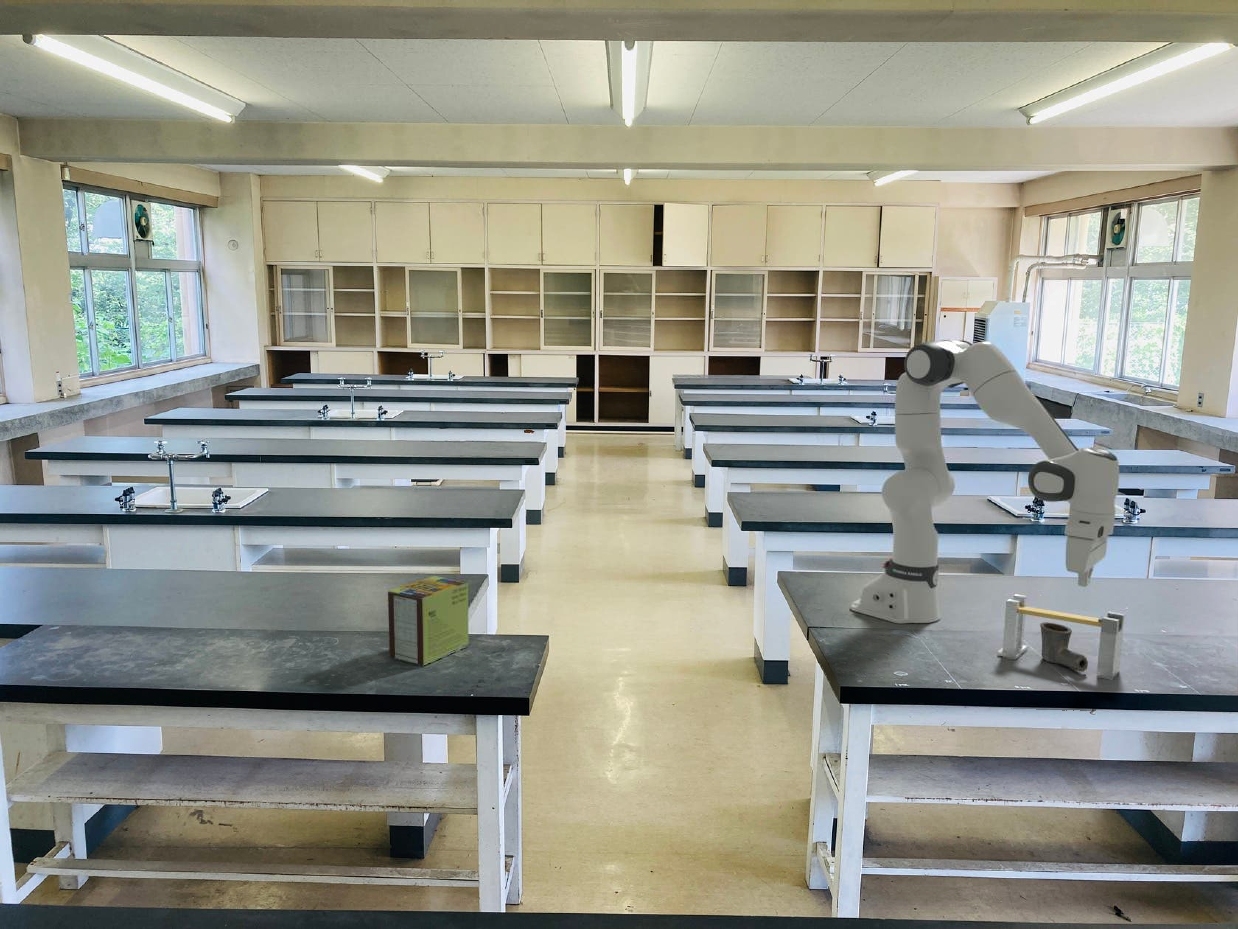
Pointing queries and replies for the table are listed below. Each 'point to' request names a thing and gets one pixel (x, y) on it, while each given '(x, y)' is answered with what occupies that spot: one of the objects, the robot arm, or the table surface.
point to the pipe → (1060, 647)
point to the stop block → (1110, 645)
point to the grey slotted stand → (1013, 629)
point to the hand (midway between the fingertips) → (1083, 585)
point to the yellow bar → (1061, 616)
